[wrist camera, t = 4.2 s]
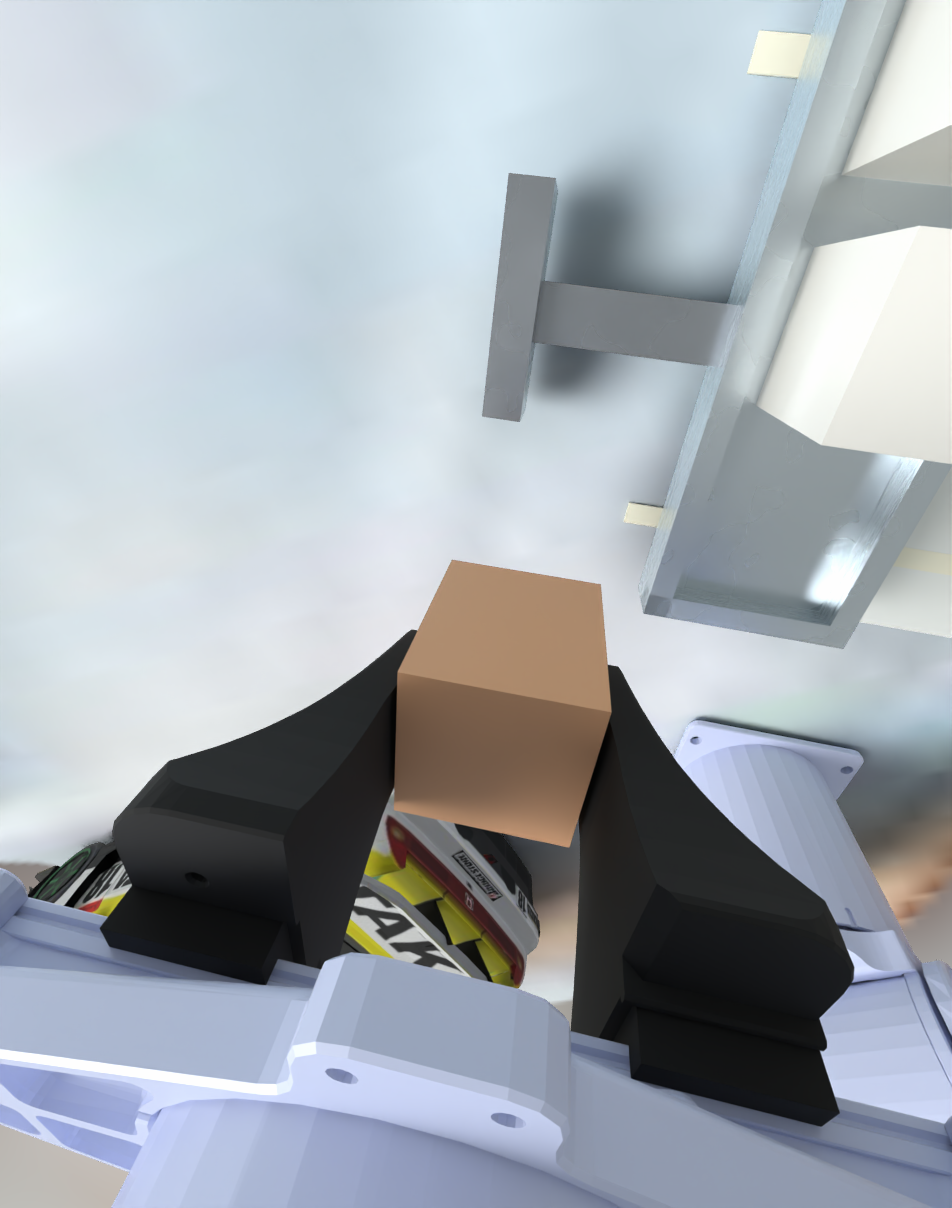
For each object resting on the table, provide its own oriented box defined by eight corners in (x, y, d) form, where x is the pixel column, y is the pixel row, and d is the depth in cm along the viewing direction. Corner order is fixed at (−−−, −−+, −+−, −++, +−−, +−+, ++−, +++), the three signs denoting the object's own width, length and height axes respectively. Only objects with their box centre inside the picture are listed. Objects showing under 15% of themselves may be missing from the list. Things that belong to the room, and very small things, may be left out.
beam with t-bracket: (808, 603, 21) (843, 648, 18) (477, 546, 22) (463, 581, 20) (1163, -75, 12) (1340, -187, 9) (557, -112, 13) (552, -222, 10)
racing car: (38, 859, 42) (-130, 1038, 32) (424, 688, 29) (354, 900, 18) (188, 968, 48) (90, 1148, 38) (566, 868, 35) (574, 1105, 24)
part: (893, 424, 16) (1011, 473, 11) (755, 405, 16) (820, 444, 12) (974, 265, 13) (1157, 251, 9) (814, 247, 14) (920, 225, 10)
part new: (571, 699, 16) (569, 847, 11) (442, 675, 16) (393, 810, 12) (600, 584, 14) (611, 711, 9) (451, 559, 14) (397, 672, 10)
